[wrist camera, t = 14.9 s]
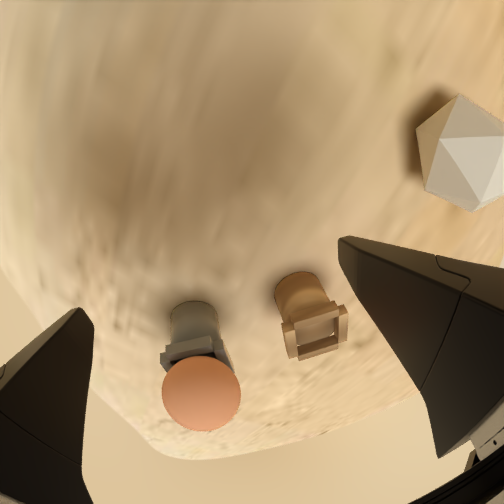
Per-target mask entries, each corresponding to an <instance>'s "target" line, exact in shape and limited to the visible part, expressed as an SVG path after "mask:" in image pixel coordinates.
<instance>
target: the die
mask: <svg viewBox="0 0 504 504" xmlns="http://www.w3.org/2000/svg"><path fill="white" fill-rule="evenodd" d="M416 135H417V141H418V147H419V153H420V160H421V167H422V175H423V183H424V190H425V191H427V192H429V193H431V194H433V195H436V196H438V197H440V198H442V199H444V200H446V201H448V202H451V203H453V204H455V205H457V206H459V207H461V208H463V209H465V210H467V211H469V212H471V213H473V212H475V211H476V210H478V209H480V208H482V207H484V206H485V205H487V204H489V203H491V202H493V201H494V200H496V199H498V198H500V197H502V196H503V195H504V122H503V121H501V120H500V119H498V118H497V117H495V116H494V115H492V114H491V113H489V112H488V111H486V110H485V109H483V108H482V107H480V106H479V105H477V104H475V103H474V102H472V101H471V100H469V99H467V98H466V97H464V96H462V95H460V94H458V95H457V96H456V97H454V98H453V99H452V100H451V101H449V102H448V103H447V104H446V105H444V106H443V107H442V108H441V109H439V110H438V111H437V112H436V113H435V114H433V115H432V116H431V117H430V118H428V119H427V120H426V121H425V122H423V123H422V124H421V125H420V126H418V127H417V128H416Z"/></svg>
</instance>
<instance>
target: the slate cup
mask: <svg viewBox="0 0 504 504" xmlns="http://www.w3.org/2000/svg"><path fill="white" fill-rule="evenodd" d="M192 356H208V357H212V358H215V359H217V360H219V361H221V362H223V363H224V364H225V365H227V366H228V367H229V368H230V369H231V370H232V371H233V373H235V372H234V367H233V363H232V361H231V358H230V356H229V354H228V351H227V349H226V347H225V344H224V342H223V340H222V339H221V335H220V328H219V322H218V315H217V312H216V310H215V309H214V308H213V307H212V306H211V305H209V304H207V303H204V302H200V301H189V302H185V303H182V304H180V305H178V306H177V307H176V308H175V309H174V310H173V311H172V313H171V344H170V345H166V352H164V353H160V364H161V365H162V367H163V368H164V369H165V371H166V372H167V373H168V371H169V370H170V369H171V368H172V367H173V366H174V365H175V364H176V363H178V362H179V361H181V360H183V359H185V358H188V357H192Z"/></svg>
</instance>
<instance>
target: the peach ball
mask: <svg viewBox="0 0 504 504" xmlns="http://www.w3.org/2000/svg"><path fill="white" fill-rule="evenodd" d="M162 399H163V403H164V406H165V408H166V410H167V412H168V413H169V415H170V416H171V417H172V418H173V419H174V420H175V421H176V422H177V423H178V424H180V425H181V426H183V427H185V428H188V429H190V430H194V431H211V430H215V429H218V428H220V427H222V426H224V425H225V424H227V423H228V422H229V421H230V420H231V419H232V418H233V417H234V415H235V414H236V412H237V410H238V408H239V405H240V399H241V390H240V385H239V382H238V380H237V378H236V376H235V374H234V373H233V371H232V370H231V369H230V368H229V367H228V366H227V365H225V364H224V363H223V362H221V361H219V360H217V359H215V358H212V357H208V356H192V357H188V358H185V359H183V360H181V361H179V362H178V363H176V364H175V365H174V366H173V367H172V368H171V369H170V370H169V371H168V373H167V374H166V376H165V378H164V381H163V385H162Z"/></svg>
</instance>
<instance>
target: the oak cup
mask: <svg viewBox="0 0 504 504" xmlns="http://www.w3.org/2000/svg"><path fill="white" fill-rule="evenodd" d="M274 296H275V300H276V303H277V306H278V309H279V311H280V314H281V317H282V320H283V322H284V323H281V325H282V330H283V336H284V341H285V346H286V351H287V354H288V357H289V359H290V358H294V357H298V360H299V361H301V360H304V359H308V358H311V357H314V356H317V355H320V354H323V353H326V352H329V351H332V350H335V349H338V343H341V342H344V341H347V331H348V311H347V310H346V308H345V306H344V304H343V305H340V306H337V304H336V303H335V301H331V302H330V300H329V298H328V297H327V295H326V293H325V291H324V289H323V287H322V285H321V284H320V282H319V280H318V278H317V277H316V276H315V275H313V274H311V273H308V272H297V273H294V274H291V275H289V276H287V277H286V278H284V279H283V280H282V281H281V282H280V283H279V284H278V285H277V287H276V289H275V293H274ZM333 332H334V335H332V336H330V335H331V334H332V333H333ZM297 345H301V346H297Z"/></svg>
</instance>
